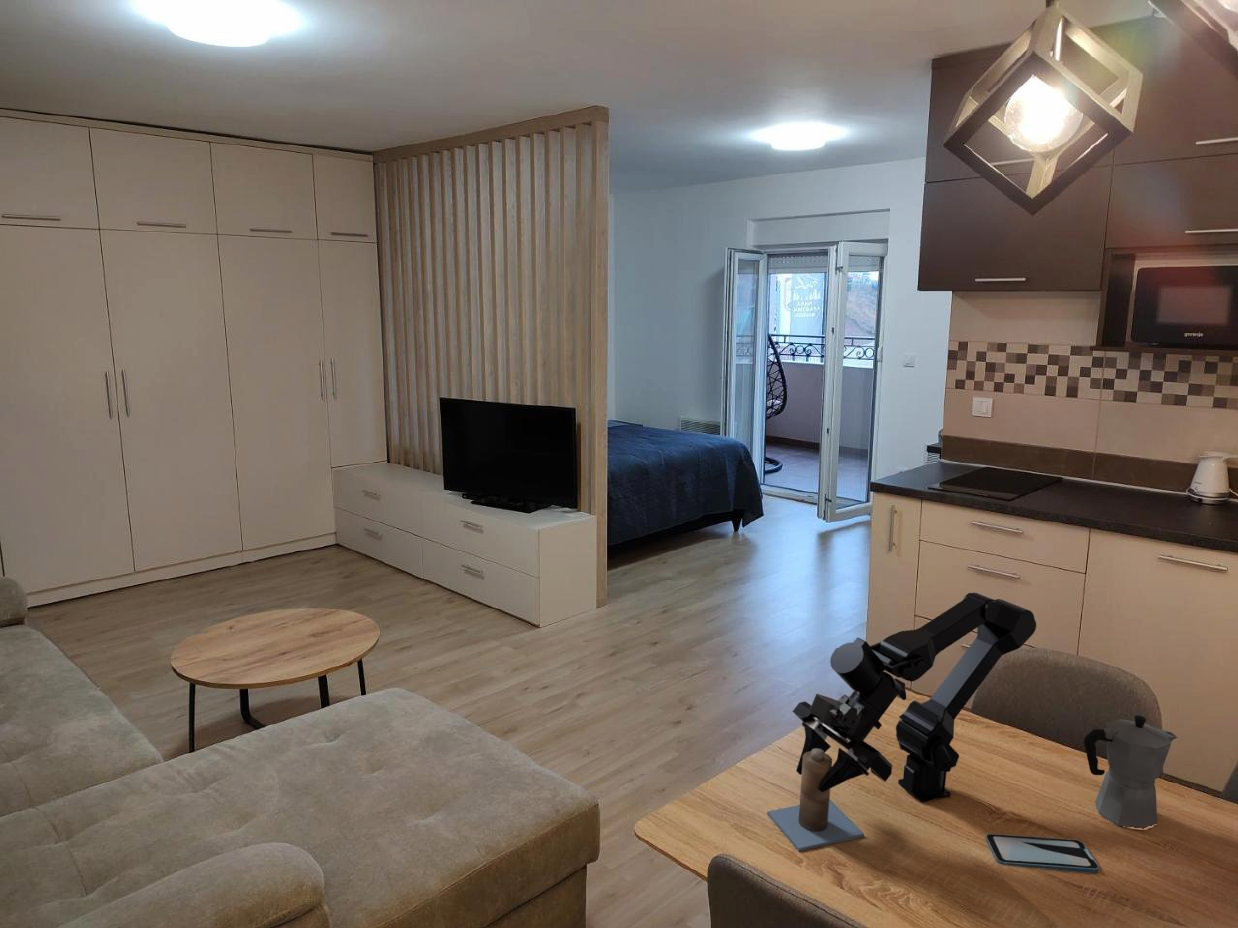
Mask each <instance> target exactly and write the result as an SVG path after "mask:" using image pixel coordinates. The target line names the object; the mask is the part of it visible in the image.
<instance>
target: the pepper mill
mask: <svg viewBox="0 0 1238 928" xmlns="http://www.w3.org/2000/svg"><path fill="white" fill-rule="evenodd" d="M832 766H833V758H832V757H831V756H830V754H827V753H826V752H825V753H824V751H823V750H822V749H818V748H815V749H812V751H809V752H806V753H804V754H803V761H802V774H801V775H800V777H801V778H800V779H801V780H800V794H799V805H800V806H799V824H800V825H801V826H802V827H803V828H804V829H806V830H809V831H814V832H819V831H823V830H825V829H826V828H827V825H828V811H829V799H831V798H830V797H831V796H830V795H831V788H830V789H828V790H826V791H824V792H821V791H820V790H819V789H818V787H819V785H820V783H821V781H822V780H823V778H824V777H825V776H826V774H827V773H828V771H829V770H830V769H831V767H832Z"/></svg>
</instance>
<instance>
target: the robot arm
mask: <svg viewBox="0 0 1238 928" xmlns="http://www.w3.org/2000/svg"><path fill="white" fill-rule="evenodd" d="M976 629H977V631H976V632H977V633H976V637H975V639H974V641H972V643H971V644H970V645H969V646H968V648H967V650H966V651H965V652H964V653H963V655H962V656H961V658H960V659H959V660H958V661H957V663H956V664H955V666H953V668H952V670H951V671H950V672H949V673H948V675H947V676H946V677H945V679H944V680H943V681H942V683H941V684H940V685H939V687H937V689H936V690H935V692H934V693H933V695H931V698H930V699H928V700H926V701H922V702H919V701H917V700H916V699H915V700H912V701H911V702H910V703H909V705H908V706H907V708H906V709H905V710H904V712H903V713H902V714H901V715H899V716H898V717H899V720H898V722H897V724H896V726H895V732H896V734H895V736H896V740H897V742H898V746H899V749H900V750H902V751H904V752H906V753H907V755H906V761H905V764H904V767H903V775H902V776H903V777H902V778H901V779H898V785H900V786H901V787H902V788H903V789H904V790H906V791H907V792H908V793H909V794H911V796H913V797H914V799H916V800H917V801H919V802H920V803H926V802H929V801H935V800H940V799H945V798H950V797H951V796H952V795H951V794H952V792H950V791H949V790H948V789H947V788H946V780H947V773H949V772H951V769H952V768H956V766H957V764H958V761H959V758H960V755H959V753H958V752H957V751H956V750H955V749H954V748H953V747H952V746H951V745H950V744H951V743H952V741H953V739H954V738H955V737H954V734H955V732H954V731H955V720H956V718H957V716H959V714H960V712H961V711H962V710H963V709H964V708H965V706H966V704H967V703H968V702H969V700H970V699H971V698H972V696H973V695H974V694H975V692H976V691H977V690H978V689H979V687H980V686H981V684H982V683H983V682H984V680H985V679H986V678H987V676H988V675H989V674H990V672H991V671H992V669H994V667H995V666H996V664H997V663H998V662H999V660H1000V658H1001V657H1003V655H1005V654H1008V653H1011V652H1013V651H1016V650H1019V649H1020V648H1022V646H1024V645H1025V643H1026V642H1027V641H1028V640H1029V639H1030V638H1031V637H1032V636H1033V634H1034V633H1035V631H1036V629H1037V621H1036V619H1035V615H1034V612H1032V611H1031V610H1030V609H1027V608H1024V607H1021V606H1020V605H1017V604H1014V603H1012V602H1009V601H1006V600H1004V599H1001V598H996V599H994V598H990V597H989V596H985V595H983V594H980V593H978V592H968V593H967V594H966V595H965V596H964V597H963V599H962V600H961V601H959V602H958V603H956V604H955V605H954V606H952V607H951V608H948V609H947V610H946V611H944V612H942V613H941V614H940V615H938V616H936V617H934V618H933V619H931V620H930V621H927V622H926V623H925V624H924V625H921V626H920V627H918V628H916V629H910V630H900V631H898V632H896V633H893V634H891V635H888V636H887V637H885V638H884V639H883V640H882V641H879V642H877V643H874V644H871V645H870V644H869V643H868V642H867V641H865V640H864V639H862V638H861V637H856V639H855V640H854V641H853V642H846V643H843V644H842V645H840V646H839V647H836V648H835V649H834V651H832V653H831V656H830V660H829V661H830V667H831V669H832V670H833V671H834V672H835V673H836V674H837V675H838V676H839V677H840V678H841V680H843V681H844V682H845V684H847V685H848V686H849V688H850V689H851V690H853V691H852V693H851V694H850V696H848V695H847V694H845V693H844V694H843V695H841V696H840V697H839V699H835V698H832V697H828V696H825V695H823V694H819V693H816V694H815V695H814V698H813V701H812V703H811V704H810V703H809V702H808V701H802V702H798V704H797V705H796V706H795V708H794V709H793V710H792V713H793V714H794V715H795V716H796V717H797V718H799V720H800V721H801V726H802V727H803V728H804V734H805V738H804V739H805V740H804V744H803V748H802V750H801V754H800V757H799V760H798V763H797V765H796V770H795V771H796V773H797V774H798V775H800V776H802V761H803V754H804V753H806V752H809V751H812V749H815V748H818V749H822V750H823V751H824V753H826V752H827V751H828V750H829V749H830V748H831V747H832V746H831V745H830V744H829V743H828V742H827V741H826V739H828V738H830V739H832V740H833V741H834V742H836V743H837V744H839V745H840V746H842V747H843V748H845V749H846V750H847V752H846V751H845V750H843V748H841V747H838V750H837V751H838V752H837V758H836V760H835V762H834V763H833V764H832V767H831V769H830V770H829V771H828V773H827V774H826V776H825V777H824V778H823V780H822V781H821V783H820V785H819V787H818V789H819V790H820V791H821V792H824V791H826V790H828V789H830V790H831V789H833V788H834V787H836V786H838V785H840V784H843V783H845V782H846V781H849V780H852V779H854V778H857V777H859V776H863V775H865V776H867V777H868V776H869V775H870V773H872V774H873V775H874V776H876V777H877V778H878V779H880V780H881V781H882V782H884V783H886V782H887V781H888V779H889V778H890V776H891V775H892V772H893V764H892V763H891V762H890V760H888V759H887V758H886V757H885V756H884V755H883V754H882V753H881V752H880V751H879V750H877V749H876V748H874V746H872V745H871V744H869V743H868V742H866V741H865V740H866V738H867V736H868V735H870V733H871V731H872V730H873V729H877V730H880V728H881V727H882V726H883V724H882V723H881V721H880V719H881V718H882V717H883V715H884V714H885V713H886V711H887V710H888V709H889V707H890V706H891V705H892V703H893V702H894V701H895V700H896V698H899V699H901V700H902V701H906V700H907V692H906V683H905V682H904V681H901V679H902V680H905V681H907V682H912V683H913V682H915V681H917V680H920V678H921V677H923V676H924V675H925V674H926V673H927V672H928V671H930V670H931V668H933V666H934V663H935V659H936V656H938V655H939V654H940V653H941V652H942V651H944V650H946V649H947V648H948V647H950V646H952V645H953V644H955V643H956V642H957V641H959V640H961V639H962V638H963V637H965V636H966V635H968V634H970V633H971V632H972V631H974V630H976ZM893 676H894V677H896V678H894V677H893ZM898 678H901V679H900V680H899V679H898ZM869 770H870V773H869V772H868V771H869Z"/></svg>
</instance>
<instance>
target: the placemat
mask: <svg viewBox="0 0 1238 928" xmlns="http://www.w3.org/2000/svg"><path fill="white" fill-rule="evenodd" d="M799 806H800V804H798V805H797V804H796V805H792V806H787V807H783V808H778V809H773V810H768V811H767V812H766V815H767V816H768V817H769V818H770V820H772V822H773V823H774V824H775V825H776V827H777V828H778V829H779V830H780V831H781V832H782V834H783V835H785V837H786V838H787V839H788V841H789V842H790V843H791V844H792V845H793V847H794V848H795V849H796V850H797V851H798V852H800V851H805V850H810V849H814V848H818V847H824V846H829V845H832V844H837V843H841V842H845V841H846V842H847V841H851V840H855V839H860V838H863V837H864V838H865V833H864V832H863V831H862V830H861V828H859V826H858V825H856V824H855V823H854V822H853V821H852V819H850V818H849V817H848V816H847V814H845V813H844V812H843V811H842V809H840V808H839V807H838V806H837V804H835V802H833V801H832V800H831V798H829V811H828V825H827V828H826V829H825V830H823V831H819V832H814V831H809V830H806V829H804V828H803V827H802V826H801V825H800V824H799Z"/></svg>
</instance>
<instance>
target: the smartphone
mask: <svg viewBox="0 0 1238 928" xmlns="http://www.w3.org/2000/svg"><path fill="white" fill-rule="evenodd" d="M984 839H985V841H986V843H987V846H988V847H989V849H990V851H991V854H992V855H993V858H994V859H995V861H996V862H997V863H998V864H1000V865H1003V866H1012V867H1020V868H1021V867H1023V868H1033V869H1042V870H1044V869H1045V870H1053V871H1062V872H1063V871H1064V872H1074V873H1086V874H1088V873H1089V874H1097V873H1099V871H1100V865H1099V864H1098V862H1097V861H1096V859H1095V858H1094V856H1093V855H1092V853H1091V851H1090V849H1089V848H1088V847H1087V845H1086V844H1085V843H1084V842H1083V841H1081V840H1078V839H1074V838H1061V837H1060V838H1058V837H1045V836H1044V837H1042V836H1030V835H1029V836H1028V835H1015V834H999V833H987V834H985V836H984Z"/></svg>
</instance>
